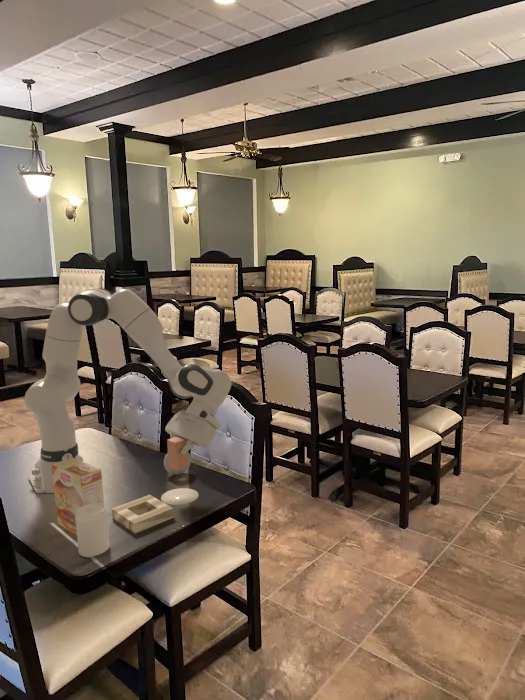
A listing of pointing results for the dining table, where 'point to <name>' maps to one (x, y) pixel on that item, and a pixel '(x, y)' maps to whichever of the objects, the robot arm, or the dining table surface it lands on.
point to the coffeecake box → (75, 489)
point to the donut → (173, 471)
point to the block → (177, 453)
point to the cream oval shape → (179, 496)
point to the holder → (142, 513)
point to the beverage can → (92, 530)
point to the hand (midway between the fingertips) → (176, 451)
